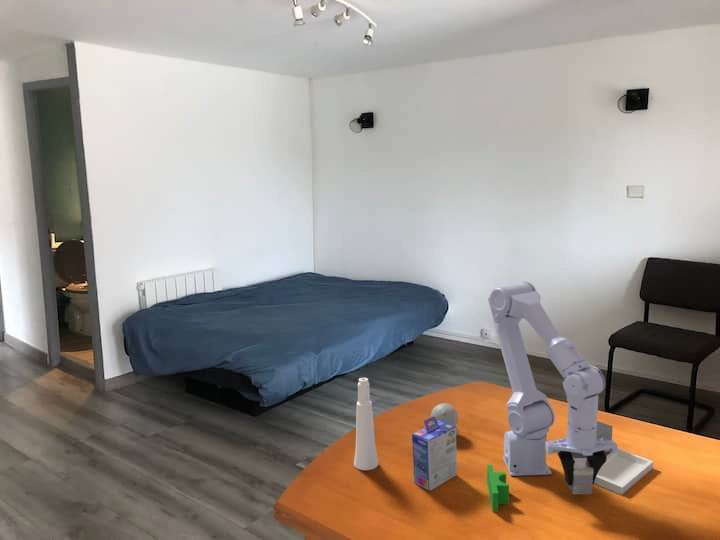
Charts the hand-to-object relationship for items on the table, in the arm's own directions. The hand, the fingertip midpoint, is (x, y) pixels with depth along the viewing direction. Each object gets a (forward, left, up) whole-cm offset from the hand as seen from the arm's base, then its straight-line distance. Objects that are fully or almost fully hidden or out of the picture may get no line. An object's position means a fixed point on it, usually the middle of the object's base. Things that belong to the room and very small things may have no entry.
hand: (579, 482), depth 121 cm
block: (0, 0, -1) cm, 1 cm away
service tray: (+12, +8, -3) cm, 15 cm away
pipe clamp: (-17, +1, -4) cm, 18 cm away
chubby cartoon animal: (-25, +31, -4) cm, 40 cm away
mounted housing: (+9, +16, -3) cm, 18 cm away
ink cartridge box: (-30, +8, -4) cm, 31 cm away
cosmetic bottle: (-46, +15, -4) cm, 49 cm away
